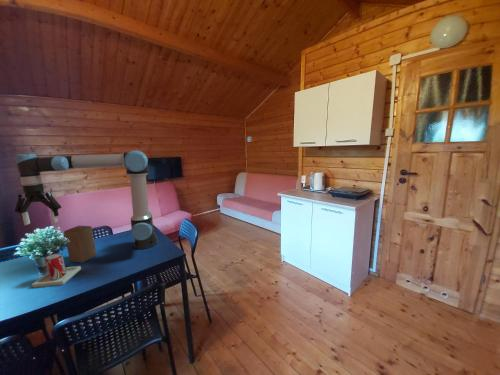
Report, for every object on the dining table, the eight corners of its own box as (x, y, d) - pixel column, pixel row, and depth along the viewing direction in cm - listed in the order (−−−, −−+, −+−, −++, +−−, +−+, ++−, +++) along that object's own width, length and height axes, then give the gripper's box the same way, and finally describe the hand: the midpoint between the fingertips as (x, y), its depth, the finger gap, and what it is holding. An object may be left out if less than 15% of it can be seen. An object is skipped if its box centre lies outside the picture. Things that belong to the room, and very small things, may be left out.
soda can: (62, 279, 112) (57, 258, 109) (45, 282, 110) (40, 260, 107) (69, 272, 118) (65, 251, 116) (54, 274, 116) (49, 254, 114)
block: (82, 263, 128) (76, 231, 124) (69, 262, 130) (62, 231, 126) (97, 255, 138) (92, 225, 134) (84, 254, 140) (78, 224, 136)
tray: (81, 269, 122) (80, 265, 121) (63, 284, 108) (62, 281, 108) (54, 271, 120) (53, 268, 120) (32, 288, 107) (31, 284, 106)
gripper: (64, 181, 116) (72, 218, 120) (11, 184, 113) (21, 222, 117) (53, 183, 109) (62, 223, 113) (-3, 187, 105) (8, 227, 110)
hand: (41, 223), depth 115 cm, fingers open, 13 cm apart
